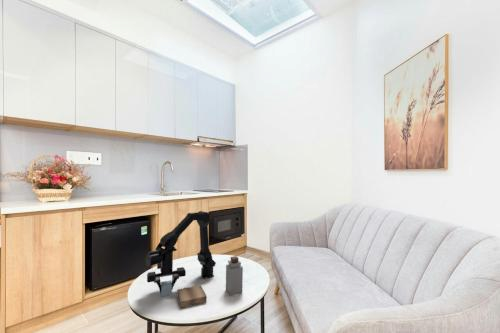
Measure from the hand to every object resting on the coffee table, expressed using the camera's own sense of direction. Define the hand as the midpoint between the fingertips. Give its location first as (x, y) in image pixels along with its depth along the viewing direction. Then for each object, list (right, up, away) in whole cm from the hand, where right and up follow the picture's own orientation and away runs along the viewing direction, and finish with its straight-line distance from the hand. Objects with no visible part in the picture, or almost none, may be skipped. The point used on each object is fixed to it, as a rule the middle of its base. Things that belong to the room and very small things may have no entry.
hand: (166, 290), depth 118 cm
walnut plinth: (+15, -1, -5) cm, 16 cm away
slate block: (0, -1, 0) cm, 1 cm away
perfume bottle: (+35, -2, +2) cm, 35 cm away
